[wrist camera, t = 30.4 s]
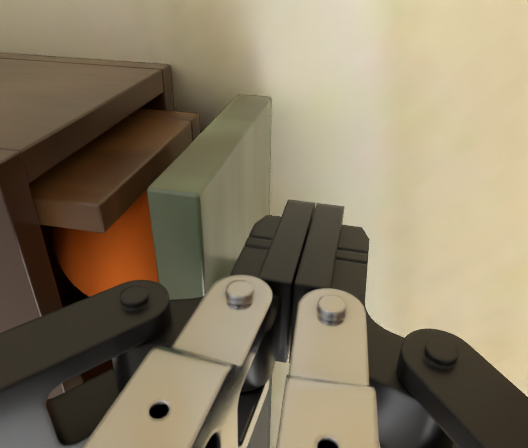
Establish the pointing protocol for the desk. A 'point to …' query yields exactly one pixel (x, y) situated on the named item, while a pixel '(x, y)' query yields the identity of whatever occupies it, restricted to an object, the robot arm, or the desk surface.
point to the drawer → (166, 192)
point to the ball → (109, 251)
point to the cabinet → (54, 156)
